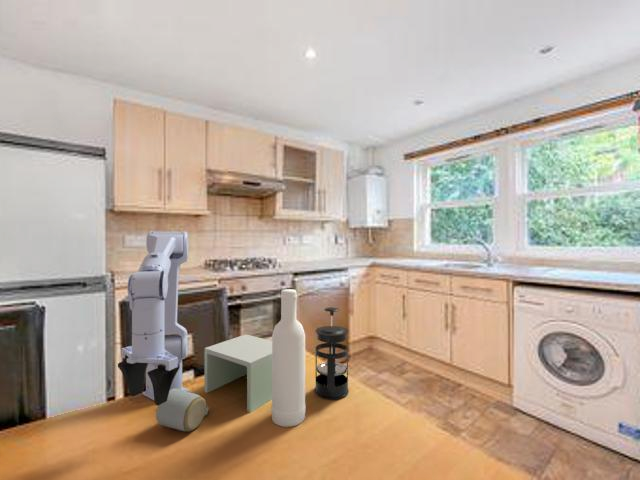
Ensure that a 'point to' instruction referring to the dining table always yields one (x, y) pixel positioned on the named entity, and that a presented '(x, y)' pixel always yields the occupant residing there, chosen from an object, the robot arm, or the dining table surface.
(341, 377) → the french press
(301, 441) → the dining table surface
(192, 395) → the ceramic mug
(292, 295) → the bottle
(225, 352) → the counter shelf
